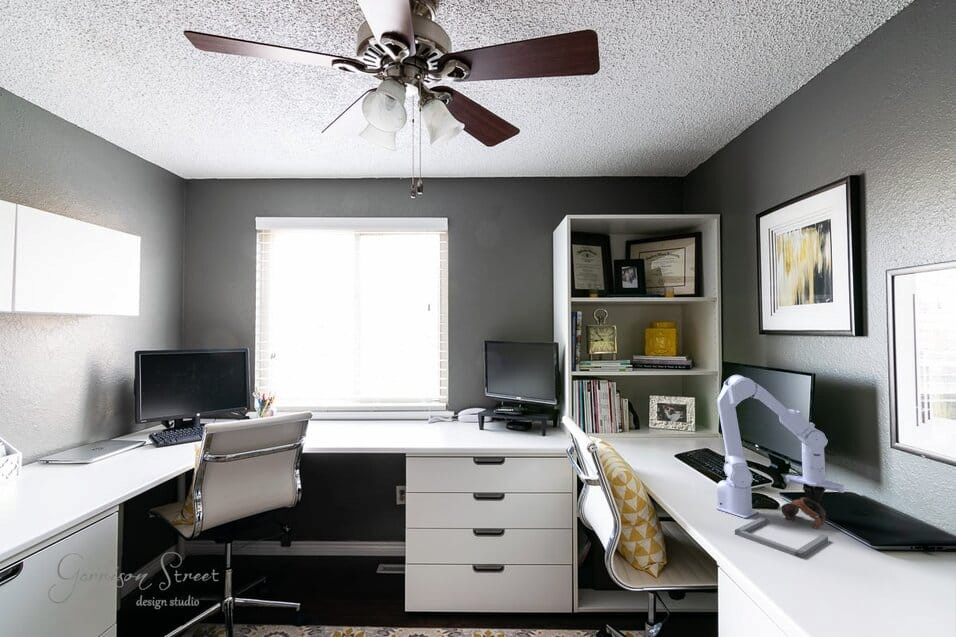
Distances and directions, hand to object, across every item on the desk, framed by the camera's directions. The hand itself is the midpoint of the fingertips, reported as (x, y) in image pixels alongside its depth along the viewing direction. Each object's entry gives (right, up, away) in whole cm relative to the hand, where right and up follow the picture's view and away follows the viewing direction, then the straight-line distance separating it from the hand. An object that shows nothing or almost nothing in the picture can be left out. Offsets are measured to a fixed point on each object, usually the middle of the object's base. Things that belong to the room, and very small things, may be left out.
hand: (815, 510), depth 141 cm
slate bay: (-19, -3, -12) cm, 22 cm away
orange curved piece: (-6, -3, -3) cm, 8 cm away
